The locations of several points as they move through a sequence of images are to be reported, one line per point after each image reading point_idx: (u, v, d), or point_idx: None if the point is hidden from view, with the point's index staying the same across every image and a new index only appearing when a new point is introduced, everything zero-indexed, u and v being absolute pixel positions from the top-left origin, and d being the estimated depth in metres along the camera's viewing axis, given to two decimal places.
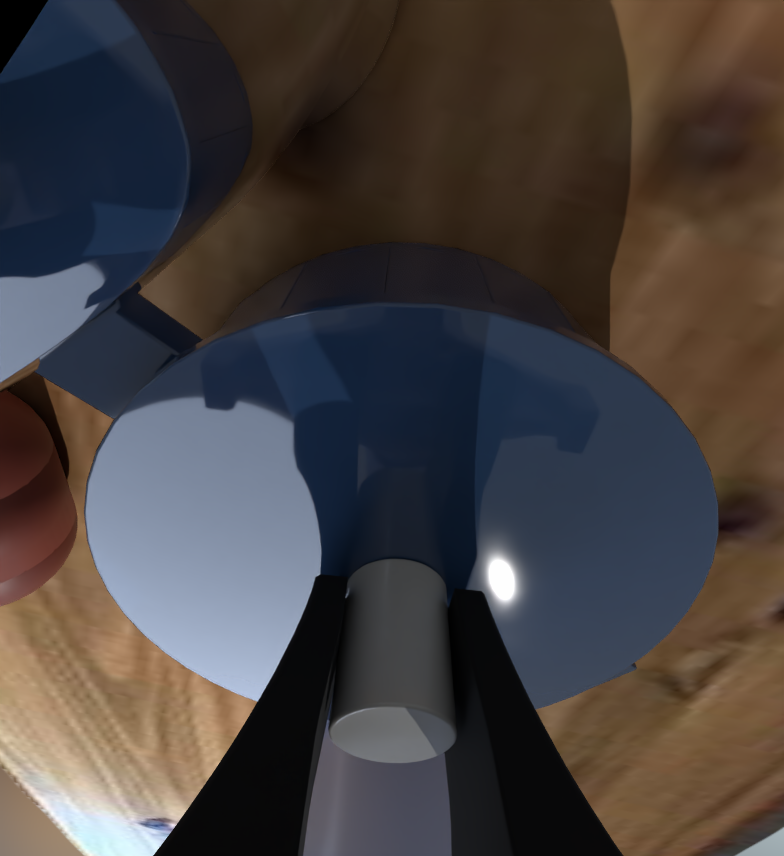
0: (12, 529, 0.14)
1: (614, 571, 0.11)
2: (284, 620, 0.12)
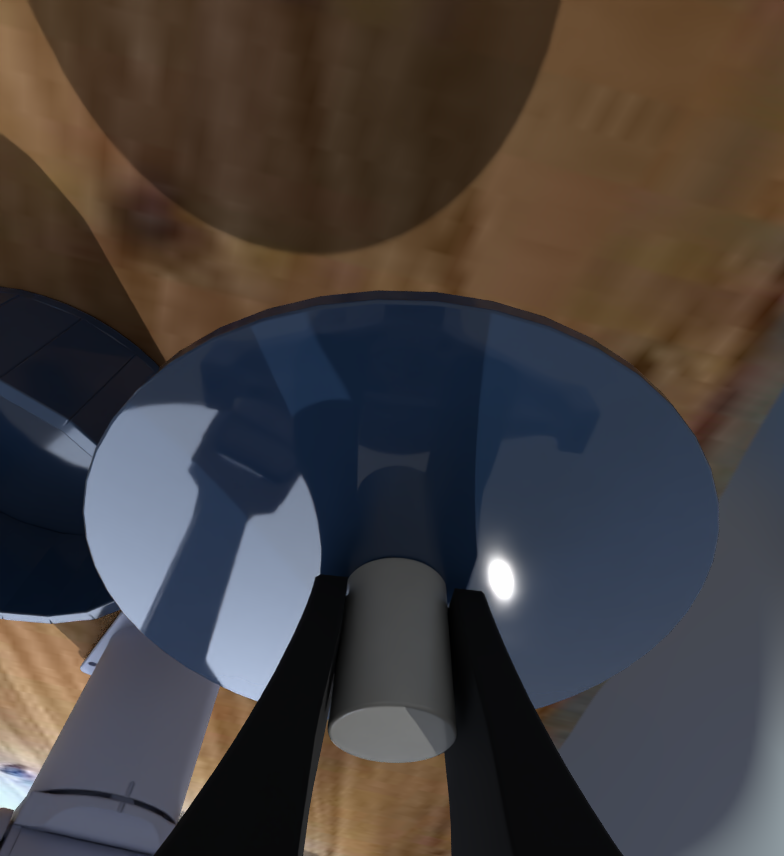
0: None
1: (614, 570, 0.11)
2: (283, 619, 0.12)
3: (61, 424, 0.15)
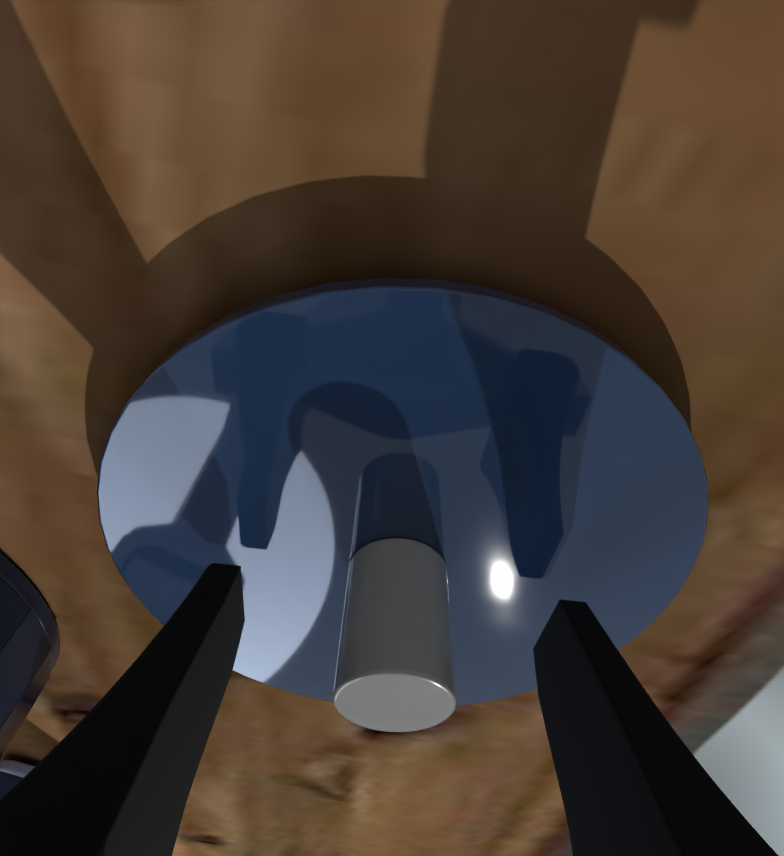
0: None
1: (608, 550, 0.11)
2: (289, 600, 0.13)
3: None
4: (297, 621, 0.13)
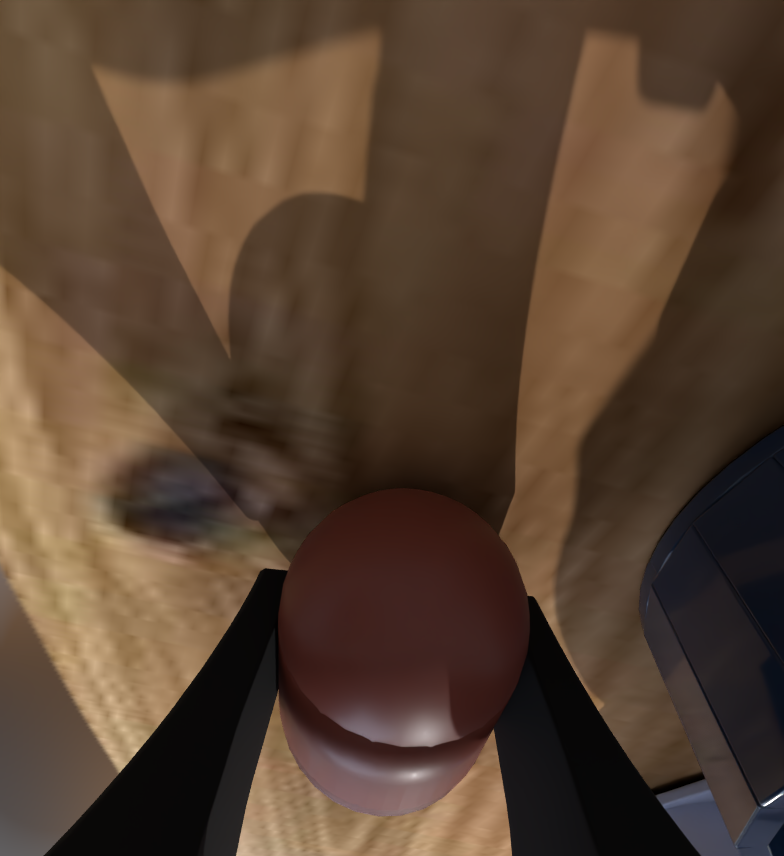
0: None
1: None
2: None
3: None
4: None
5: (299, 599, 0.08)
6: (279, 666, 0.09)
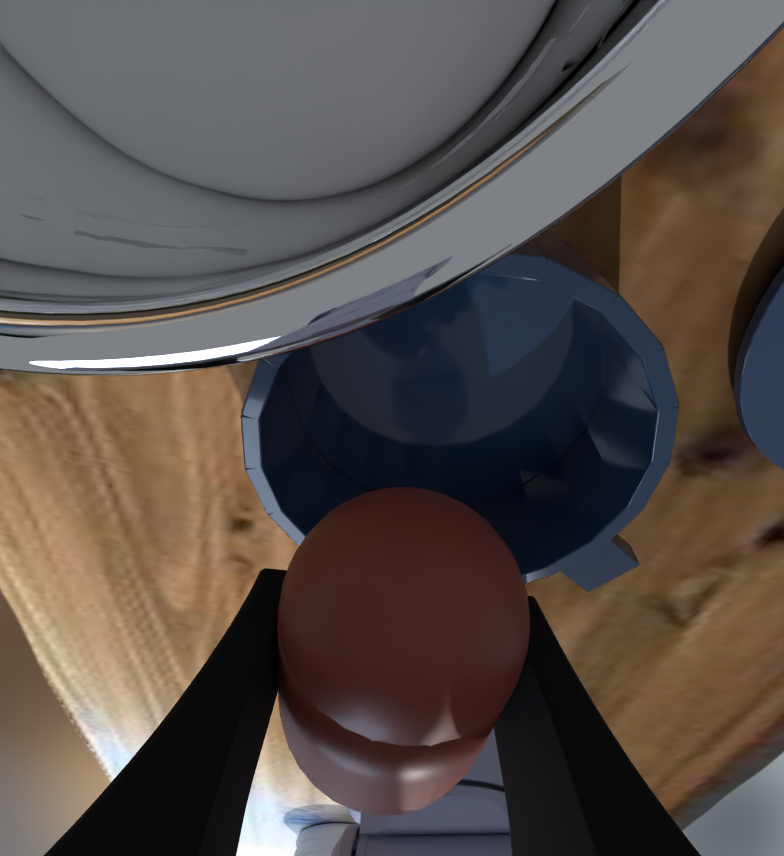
0: None
1: None
2: None
3: (651, 352, 0.13)
4: None
5: (298, 597, 0.08)
6: (278, 665, 0.09)
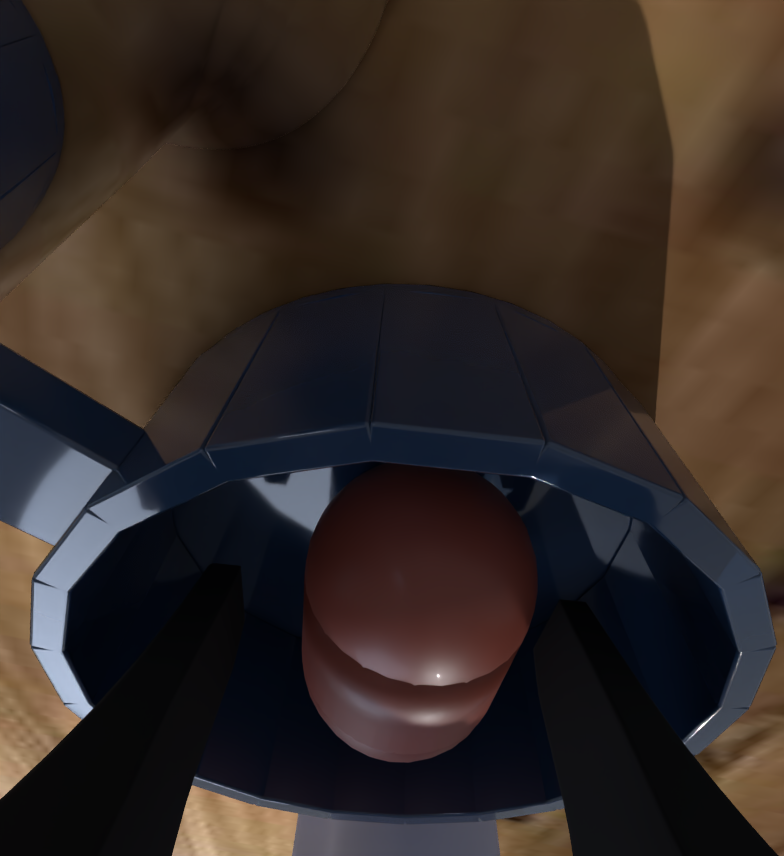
0: None
1: None
2: None
3: (738, 581, 0.07)
4: None
5: (332, 566, 0.09)
6: (309, 636, 0.10)
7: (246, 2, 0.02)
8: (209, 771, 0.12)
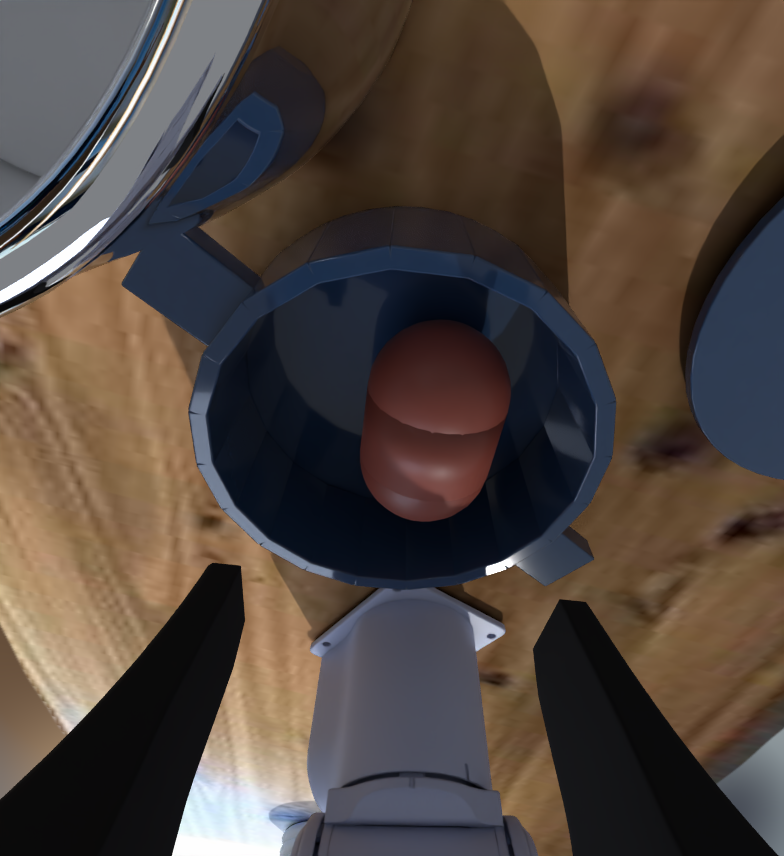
0: None
1: None
2: None
3: (583, 348, 0.13)
4: None
5: (402, 379, 0.14)
6: (383, 440, 0.16)
7: None
8: (276, 538, 0.18)
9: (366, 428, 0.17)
